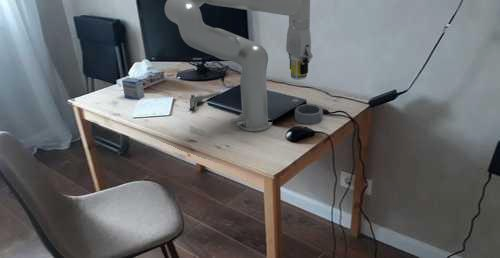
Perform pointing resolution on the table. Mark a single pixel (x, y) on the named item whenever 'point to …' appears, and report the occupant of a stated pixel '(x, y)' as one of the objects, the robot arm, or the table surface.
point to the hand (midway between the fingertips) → (298, 70)
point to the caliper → (200, 98)
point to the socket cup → (308, 114)
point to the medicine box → (133, 88)
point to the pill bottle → (296, 68)
